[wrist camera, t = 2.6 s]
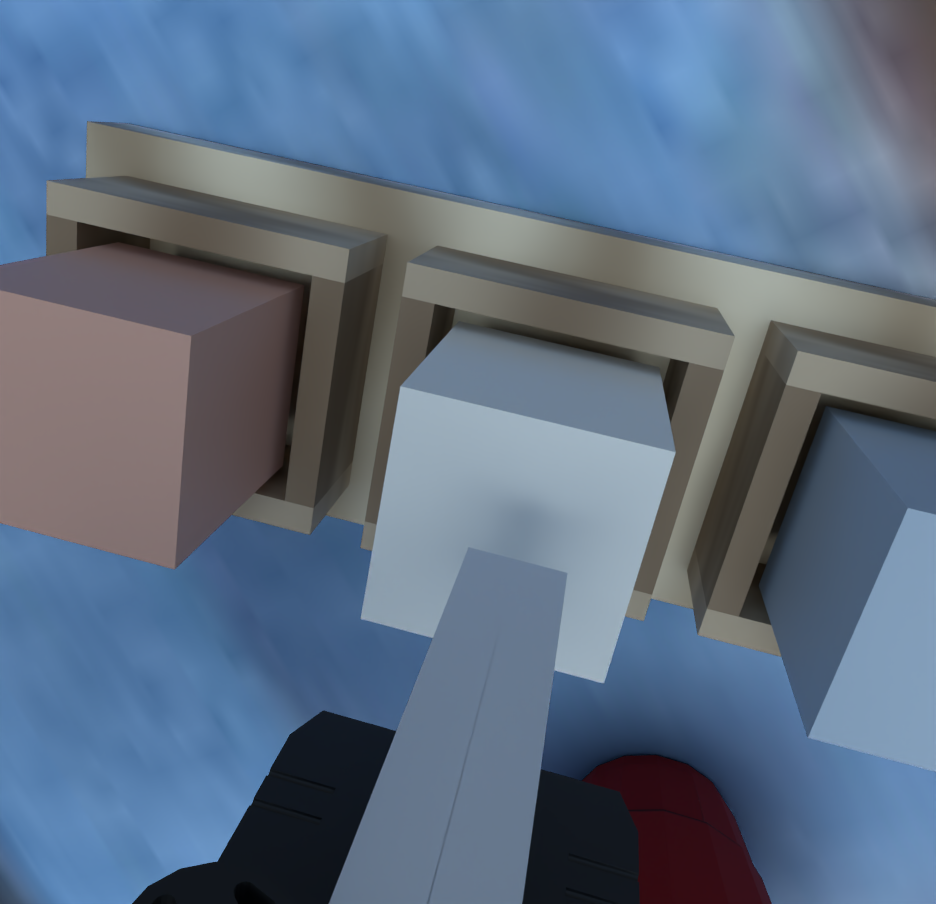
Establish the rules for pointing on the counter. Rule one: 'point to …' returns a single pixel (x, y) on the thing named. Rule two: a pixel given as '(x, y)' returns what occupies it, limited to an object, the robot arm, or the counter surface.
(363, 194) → the beige slotted block
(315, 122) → the counter surface
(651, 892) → the plastic cup
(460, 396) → the ivory key
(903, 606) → the slate key
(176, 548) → the terracotta key
